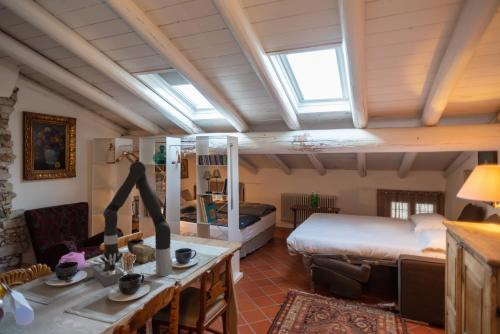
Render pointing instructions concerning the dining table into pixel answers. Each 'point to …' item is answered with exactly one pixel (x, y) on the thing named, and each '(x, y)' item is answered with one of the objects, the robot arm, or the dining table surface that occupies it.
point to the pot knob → (106, 267)
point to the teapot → (74, 259)
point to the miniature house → (144, 253)
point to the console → (107, 276)
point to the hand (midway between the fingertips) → (112, 270)
